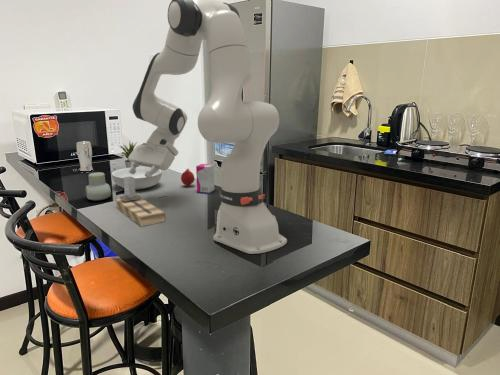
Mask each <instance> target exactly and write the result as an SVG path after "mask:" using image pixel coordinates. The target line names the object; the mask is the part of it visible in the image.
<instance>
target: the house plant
mask: <svg viewBox="0 0 500 375" xmlns="http://www.w3.org/2000/svg"><path fill="white" fill-rule="evenodd" d="M128 142H129V143H128V146H129V148H128V146H127V145H126V143H123V145H119V147H120V148H121V149H122V150H123V152H120V154H121V155H120V157H125V158H127V159H125V160H124V165H125V168H130V167H131V164H132V163H131V162H130V161H129V160H128V157H129V155H130V154H131V153H132V151H133V150H134V149H135V148H136V146H137V144H138V141H137V142H135V143H133V142H132V143H131V141H128ZM138 167H140V165H139V166H138Z"/></svg>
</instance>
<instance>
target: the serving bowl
mask: <svg viewBox="0 0 500 375" xmlns="http://www.w3.org/2000/svg"><path fill="white" fill-rule="evenodd" d="M130 169H131V167H130V168H126V167H125V168H119V169H117V170H114V171H113V172H112V173H111V176H112V180H113V182H114V183H115V185H117V186H119V187H120V188H123V189H124V179H123V178H124V177H128V176H130V177H134V181H135V191H137V190H138V191H139V190H144V189H147V188H152V187H154V186H155V185H157V184H158V183H160V181H161V178H162V174H163V173H162V171H163V170H160V169H159V170H158V171H157V172H156V173H154V174H153V175H152V176H151V178H147V177H146V176H145V174H146V172H147V171H148V172H149V171H150V170H151V169H152V168H150V167H145V166H139V167H136V173H135V174H131V173H129V170H130Z"/></svg>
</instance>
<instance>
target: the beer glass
mask: <svg viewBox="0 0 500 375" xmlns="http://www.w3.org/2000/svg"><path fill="white" fill-rule="evenodd" d="M76 153H77V157H78V160H79V164H80V168H79V171H91V170H93V171H94V169H93V166H92V164H93V163H92V158H93V150H92V144H91V141H90V140H89V141H88V140H86V141H85V140H84V141H83V140H82V141H77V142H76Z"/></svg>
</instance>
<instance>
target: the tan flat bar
mask: <svg viewBox="0 0 500 375" xmlns="http://www.w3.org/2000/svg"><path fill="white" fill-rule="evenodd" d="M115 203H116V208H117V209H118V210H120V211H121V212H122V213H124V215H126V216H127V217H129V218H130V219H131V220H133V221H134V222H135V223H137V224H138V225H139V226H140V227H146V226H150V225H151V226H152V225H155V224H159V223H164V222H166V215H165V214H166V213H165V212H164V211H163V210H161V209H159V208H158V207H156V206H155V205H153V204H151V203H150V202H148V201H146V200H145V199H143V198H142V197H141V199H138V200H132V201H126V202H124V201H122V200H121V199H120V198H117V199H115Z"/></svg>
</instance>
